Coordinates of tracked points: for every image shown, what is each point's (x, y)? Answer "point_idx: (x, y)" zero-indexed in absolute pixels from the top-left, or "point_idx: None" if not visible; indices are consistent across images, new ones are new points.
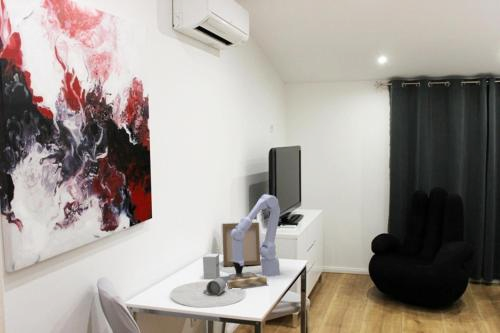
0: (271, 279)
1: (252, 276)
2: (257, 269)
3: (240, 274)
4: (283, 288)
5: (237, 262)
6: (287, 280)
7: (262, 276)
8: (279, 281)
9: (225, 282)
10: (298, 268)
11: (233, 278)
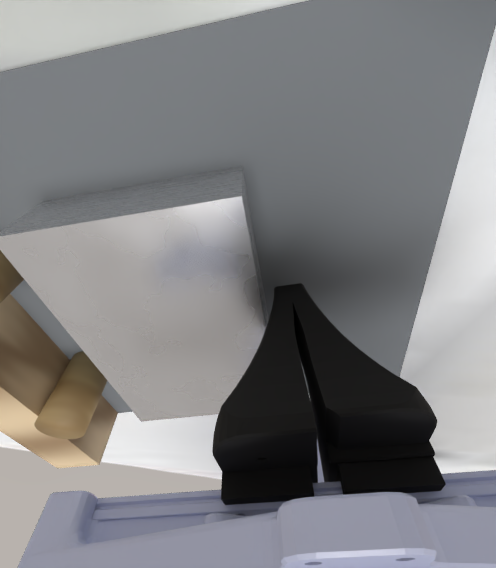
0: (208, 432)
1: (35, 424)
2: (482, 404)
3: (201, 339)
4: (28, 449)
5: (128, 546)
6: (175, 467)
7: (78, 456)
8: (161, 449)
9: (119, 97)
10: None
11: (2, 250)
